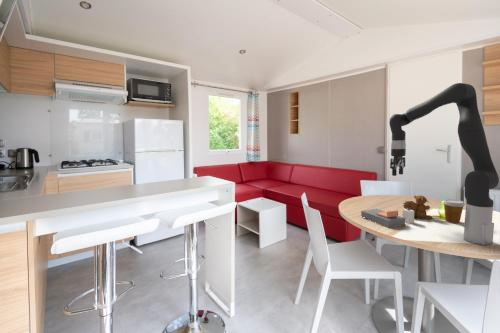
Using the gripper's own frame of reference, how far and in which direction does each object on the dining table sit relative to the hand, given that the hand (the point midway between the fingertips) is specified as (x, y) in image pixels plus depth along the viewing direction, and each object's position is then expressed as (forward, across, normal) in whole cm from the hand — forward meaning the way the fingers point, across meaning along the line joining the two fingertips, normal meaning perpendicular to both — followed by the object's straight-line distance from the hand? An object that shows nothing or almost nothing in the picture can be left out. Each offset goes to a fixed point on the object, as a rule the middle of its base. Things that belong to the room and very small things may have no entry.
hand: (397, 175), depth 151 cm
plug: (+26, -4, -8) cm, 28 cm away
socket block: (+26, -13, +2) cm, 29 cm away
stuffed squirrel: (+27, +10, -7) cm, 29 cm away
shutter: (+22, -14, -1) cm, 26 cm away
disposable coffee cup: (+27, +16, -23) cm, 39 cm away
